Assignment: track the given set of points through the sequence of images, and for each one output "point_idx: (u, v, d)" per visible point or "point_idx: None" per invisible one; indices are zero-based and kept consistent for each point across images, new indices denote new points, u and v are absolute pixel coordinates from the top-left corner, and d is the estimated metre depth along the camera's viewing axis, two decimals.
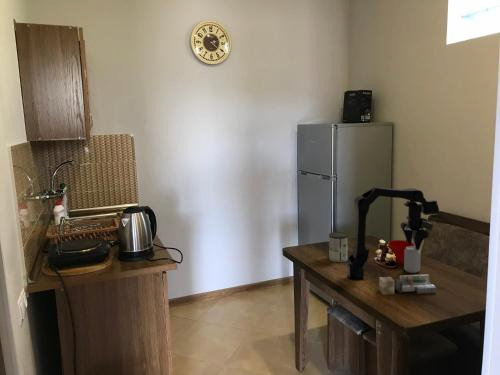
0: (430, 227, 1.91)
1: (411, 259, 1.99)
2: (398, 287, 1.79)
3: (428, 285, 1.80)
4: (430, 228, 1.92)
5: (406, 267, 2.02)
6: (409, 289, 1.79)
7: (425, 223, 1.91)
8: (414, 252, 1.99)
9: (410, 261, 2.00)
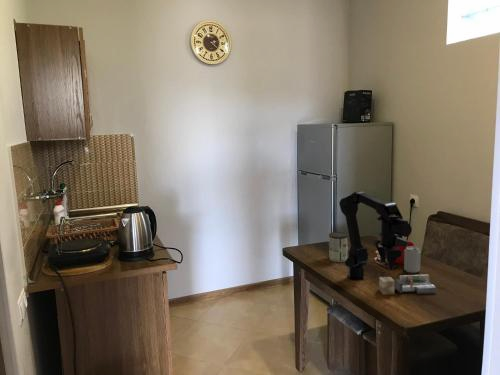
0: (405, 245, 1.75)
1: (411, 259, 1.99)
2: (398, 287, 1.79)
3: (428, 285, 1.80)
4: (405, 246, 1.75)
5: (406, 267, 2.02)
6: (409, 289, 1.79)
7: (399, 240, 1.74)
8: (414, 252, 1.99)
9: (410, 261, 2.00)
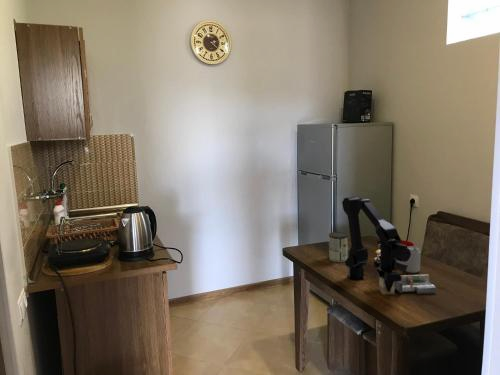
0: (404, 268, 1.76)
1: (411, 259, 1.99)
2: (398, 287, 1.79)
3: (428, 285, 1.80)
4: (404, 269, 1.76)
5: None
6: (409, 289, 1.79)
7: (398, 264, 1.76)
8: (414, 252, 1.99)
9: (410, 261, 2.00)
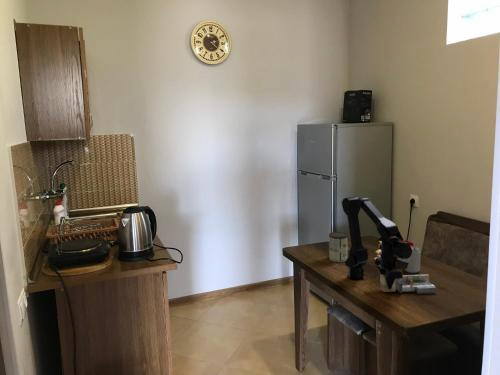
0: (405, 266, 1.76)
1: (411, 259, 1.99)
2: (398, 287, 1.79)
3: (428, 285, 1.80)
4: (405, 267, 1.76)
5: None
6: (409, 289, 1.79)
7: (400, 261, 1.75)
8: (414, 252, 1.99)
9: (410, 261, 2.00)
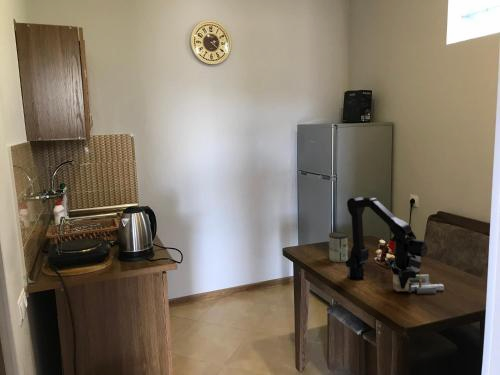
0: (418, 265, 1.76)
1: None
2: None
3: (437, 285, 1.80)
4: (418, 266, 1.76)
5: None
6: None
7: (413, 261, 1.76)
8: None
9: None
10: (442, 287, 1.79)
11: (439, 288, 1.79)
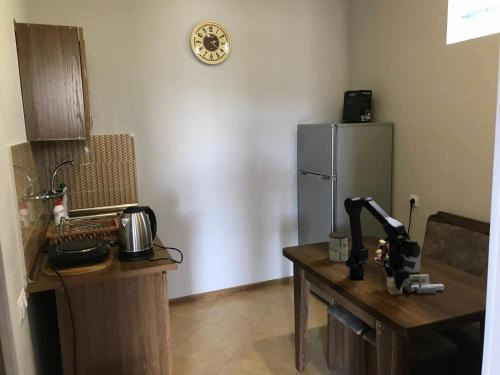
0: (412, 265, 1.76)
1: None
2: (407, 287, 1.79)
3: (437, 285, 1.80)
4: (412, 266, 1.76)
5: (406, 267, 2.02)
6: None
7: (407, 261, 1.76)
8: None
9: None
10: (442, 287, 1.79)
11: (439, 288, 1.79)
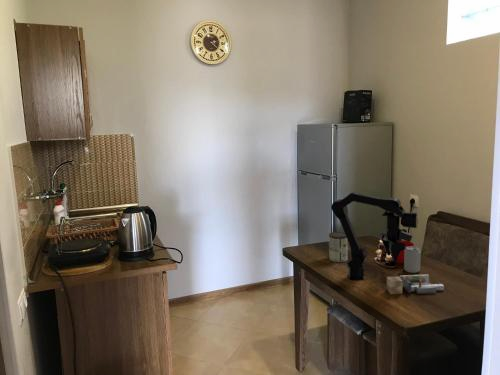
0: (409, 238, 1.84)
1: (411, 259, 1.99)
2: (407, 287, 1.79)
3: (437, 285, 1.80)
4: (409, 239, 1.84)
5: (406, 267, 2.02)
6: None
7: (403, 234, 1.84)
8: (414, 252, 1.99)
9: (410, 261, 2.00)
10: (442, 287, 1.79)
11: (439, 288, 1.79)
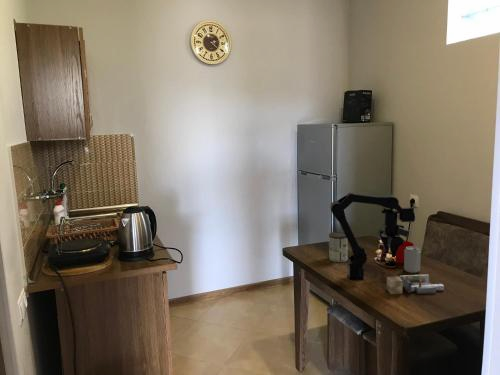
0: (406, 234, 1.90)
1: (411, 259, 1.99)
2: (407, 287, 1.79)
3: (437, 285, 1.80)
4: (406, 235, 1.90)
5: (406, 267, 2.02)
6: None
7: (401, 230, 1.90)
8: (414, 252, 1.99)
9: (410, 261, 2.00)
10: (442, 287, 1.79)
11: (439, 288, 1.79)
